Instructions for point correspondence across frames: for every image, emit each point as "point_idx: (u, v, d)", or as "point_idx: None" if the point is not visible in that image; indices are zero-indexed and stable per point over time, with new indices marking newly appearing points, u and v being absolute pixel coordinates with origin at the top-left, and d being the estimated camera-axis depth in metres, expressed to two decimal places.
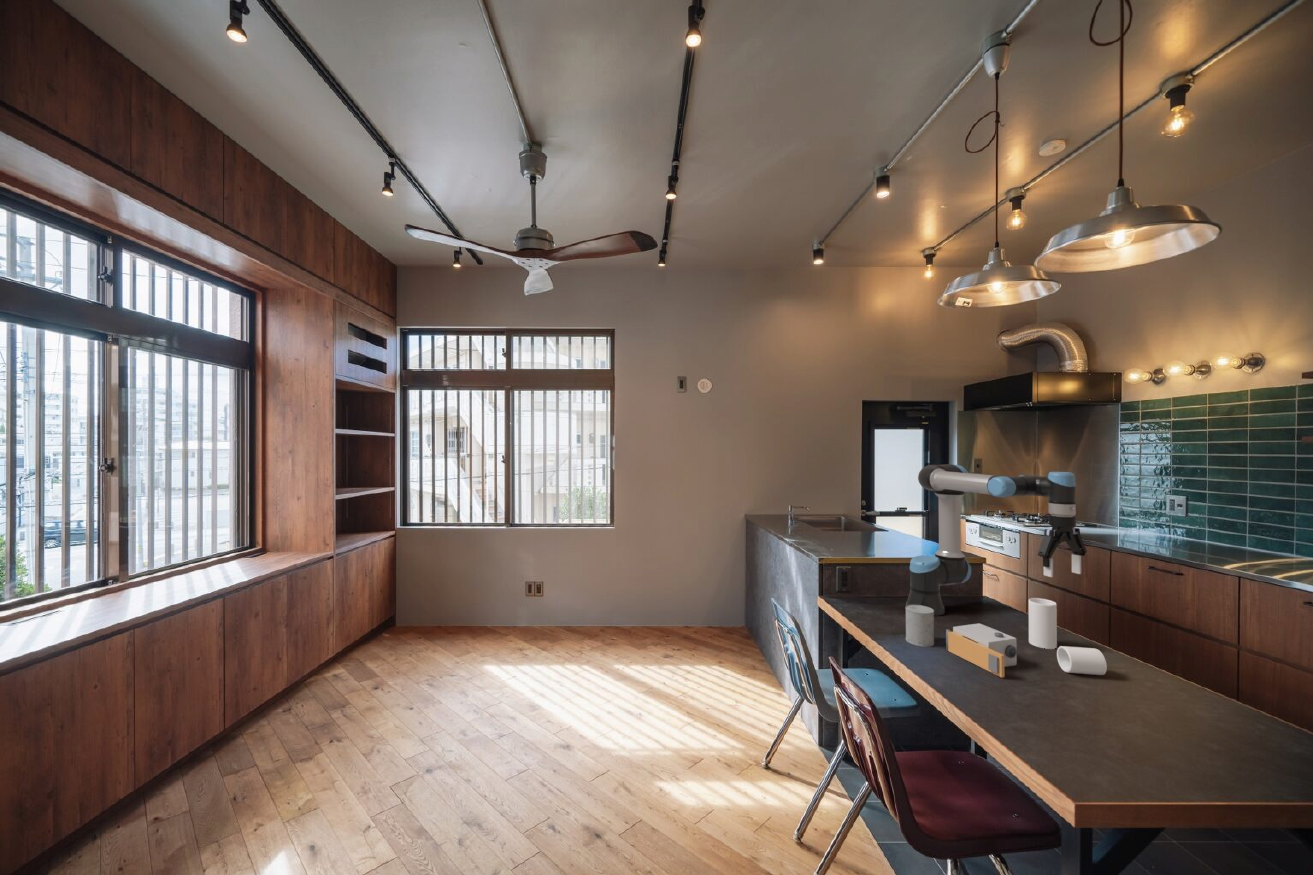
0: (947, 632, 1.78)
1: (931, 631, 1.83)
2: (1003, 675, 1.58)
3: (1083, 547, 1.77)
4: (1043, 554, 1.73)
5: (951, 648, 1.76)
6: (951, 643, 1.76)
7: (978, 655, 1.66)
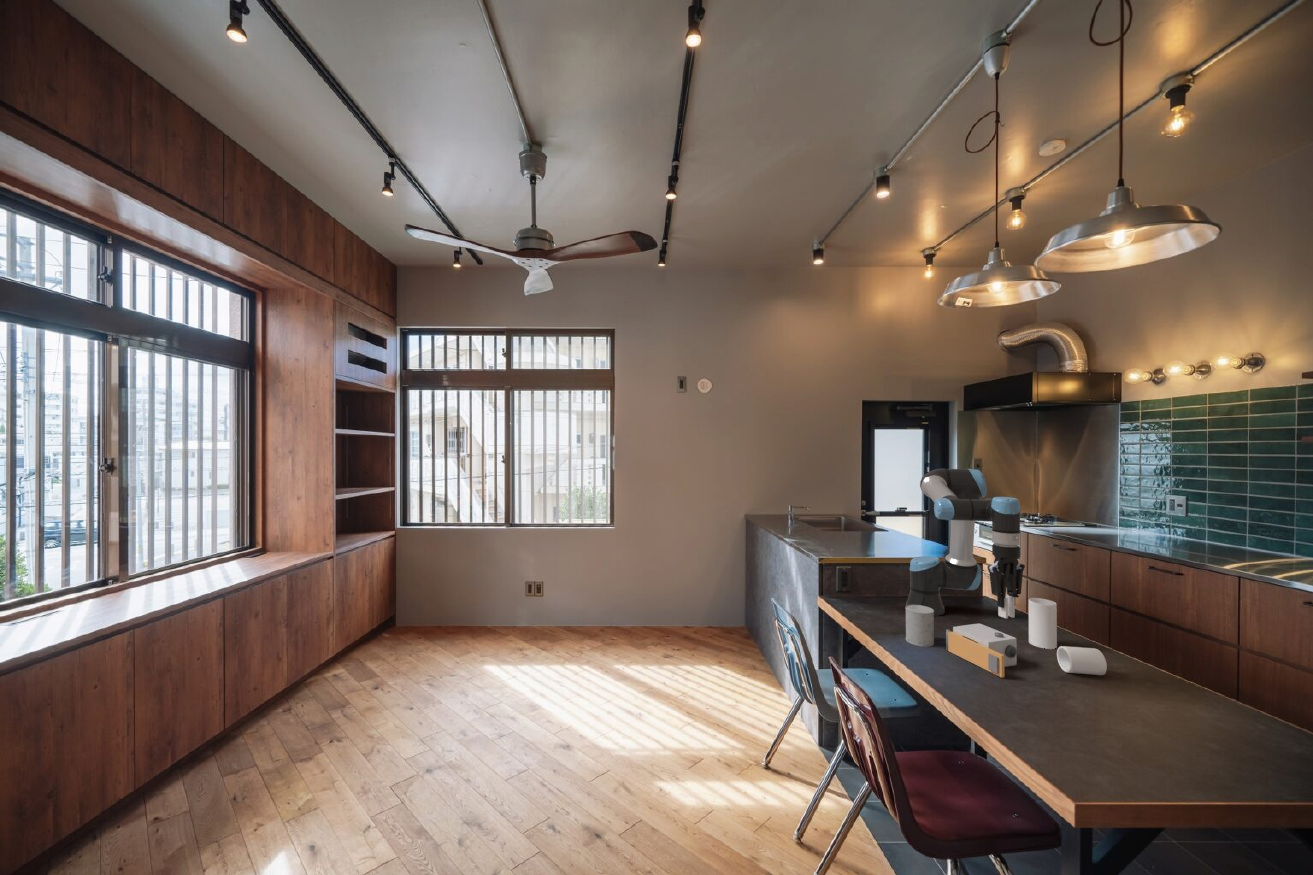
0: (947, 632, 1.78)
1: (931, 631, 1.83)
2: (1003, 675, 1.58)
3: (1019, 587, 1.61)
4: (997, 594, 1.60)
5: (951, 648, 1.76)
6: (951, 643, 1.76)
7: (978, 655, 1.66)
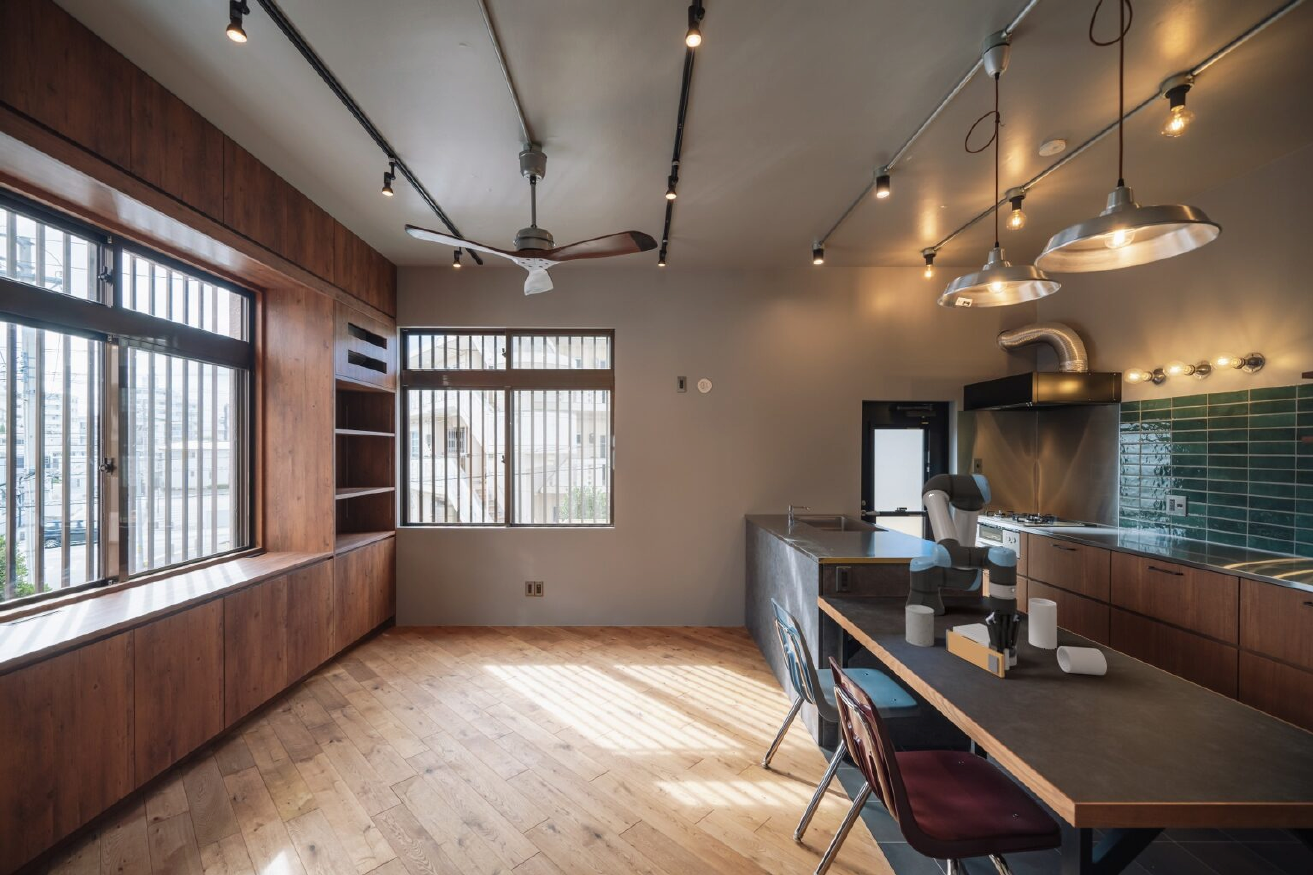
0: (947, 632, 1.78)
1: (931, 631, 1.83)
2: (1003, 675, 1.58)
3: (1015, 639, 1.61)
4: (996, 646, 1.60)
5: (951, 648, 1.76)
6: (951, 643, 1.76)
7: (978, 655, 1.66)
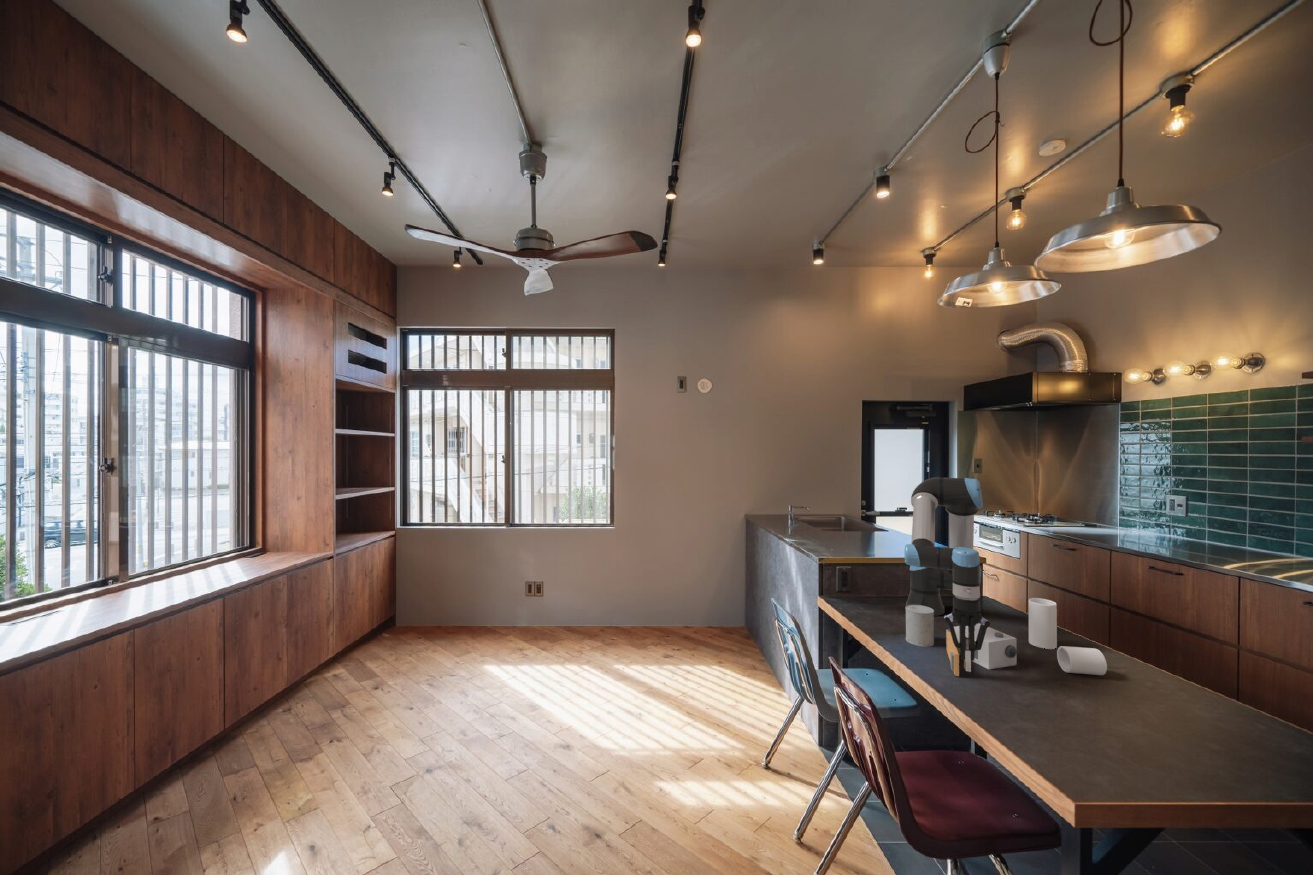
0: (946, 632, 1.78)
1: (931, 631, 1.83)
2: (957, 674, 1.59)
3: (979, 642, 1.58)
4: None
5: (947, 647, 1.77)
6: (947, 642, 1.77)
7: None
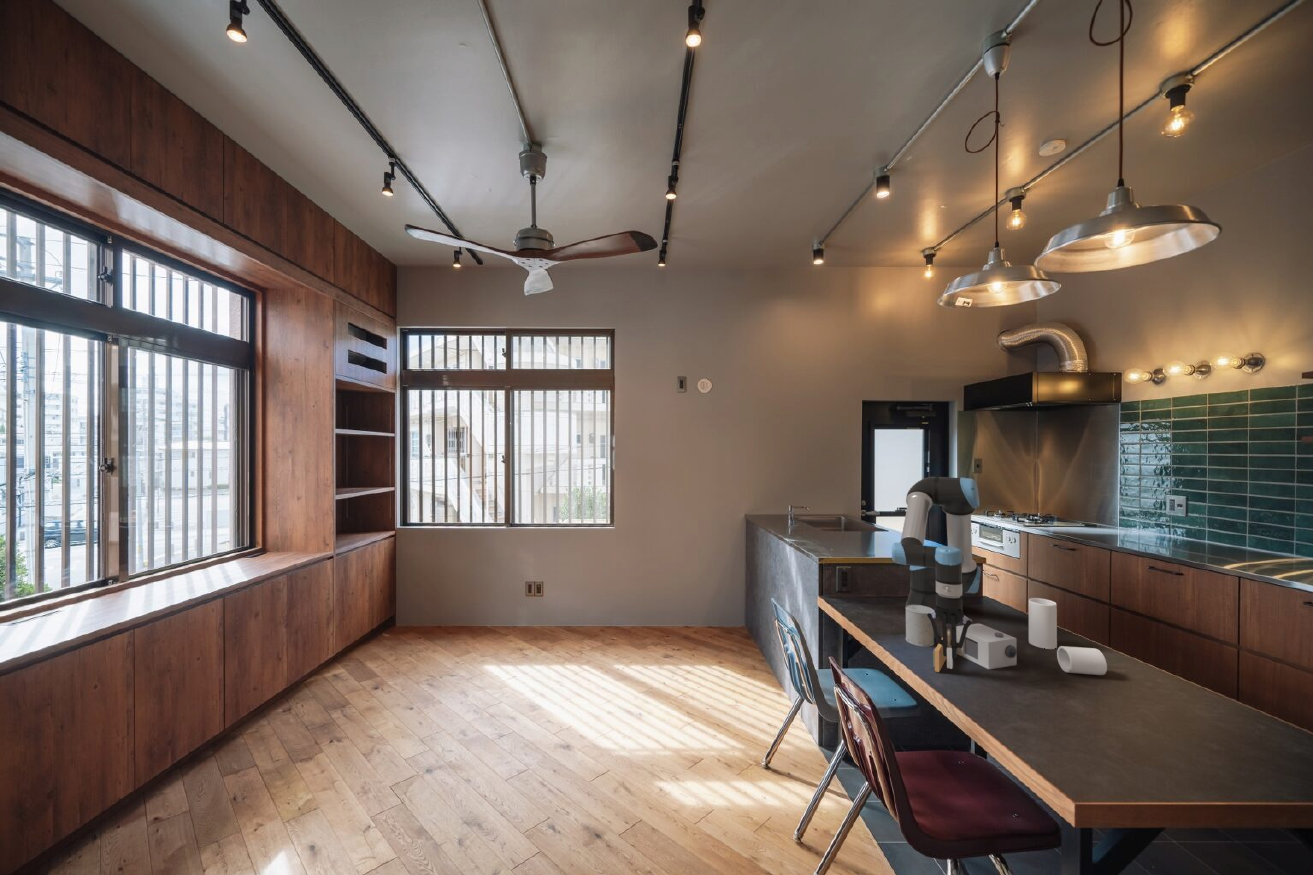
0: None
1: (931, 631, 1.83)
2: (937, 670, 1.62)
3: (961, 640, 1.59)
4: None
5: None
6: None
7: None
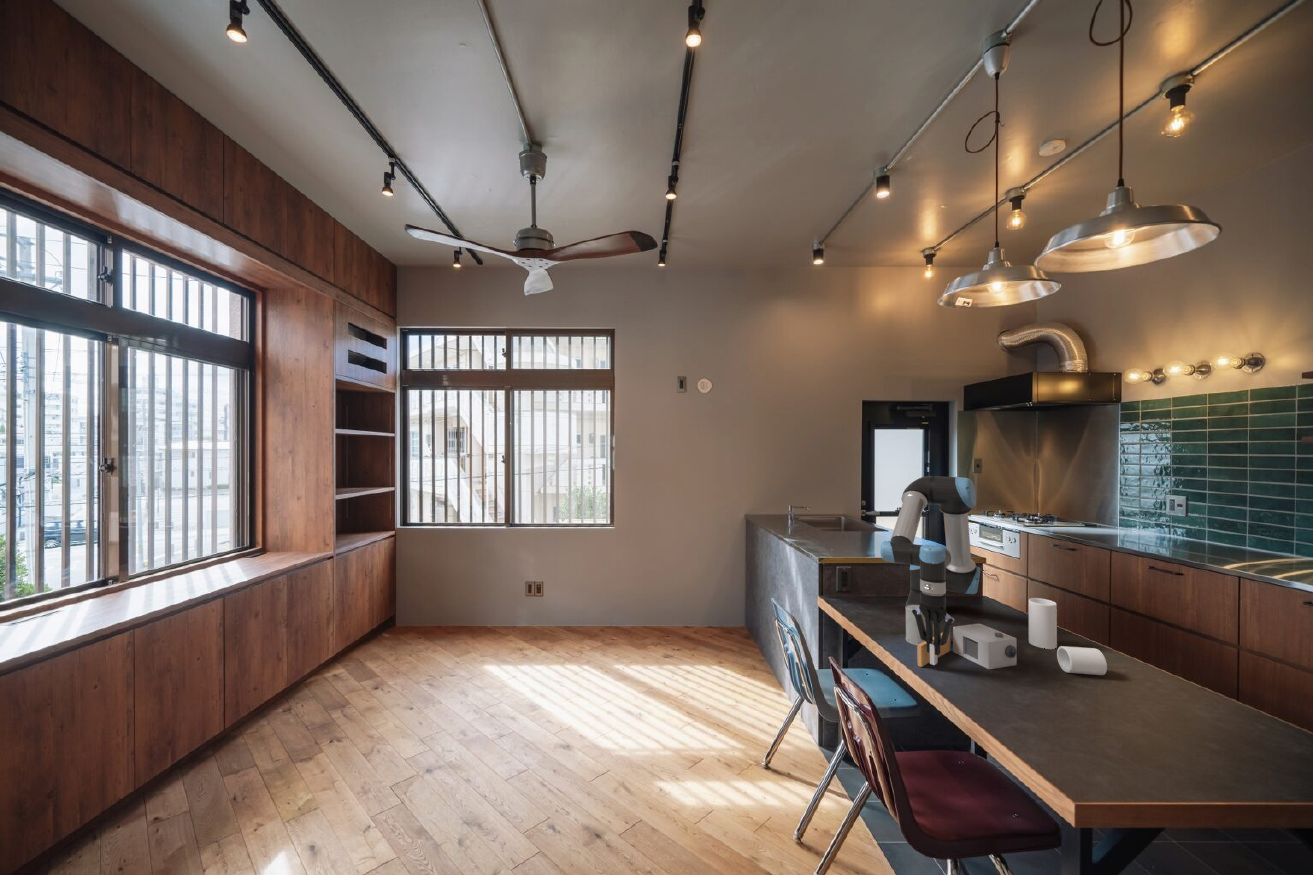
0: None
1: None
2: (920, 664, 1.66)
3: (942, 638, 1.62)
4: None
5: None
6: None
7: None
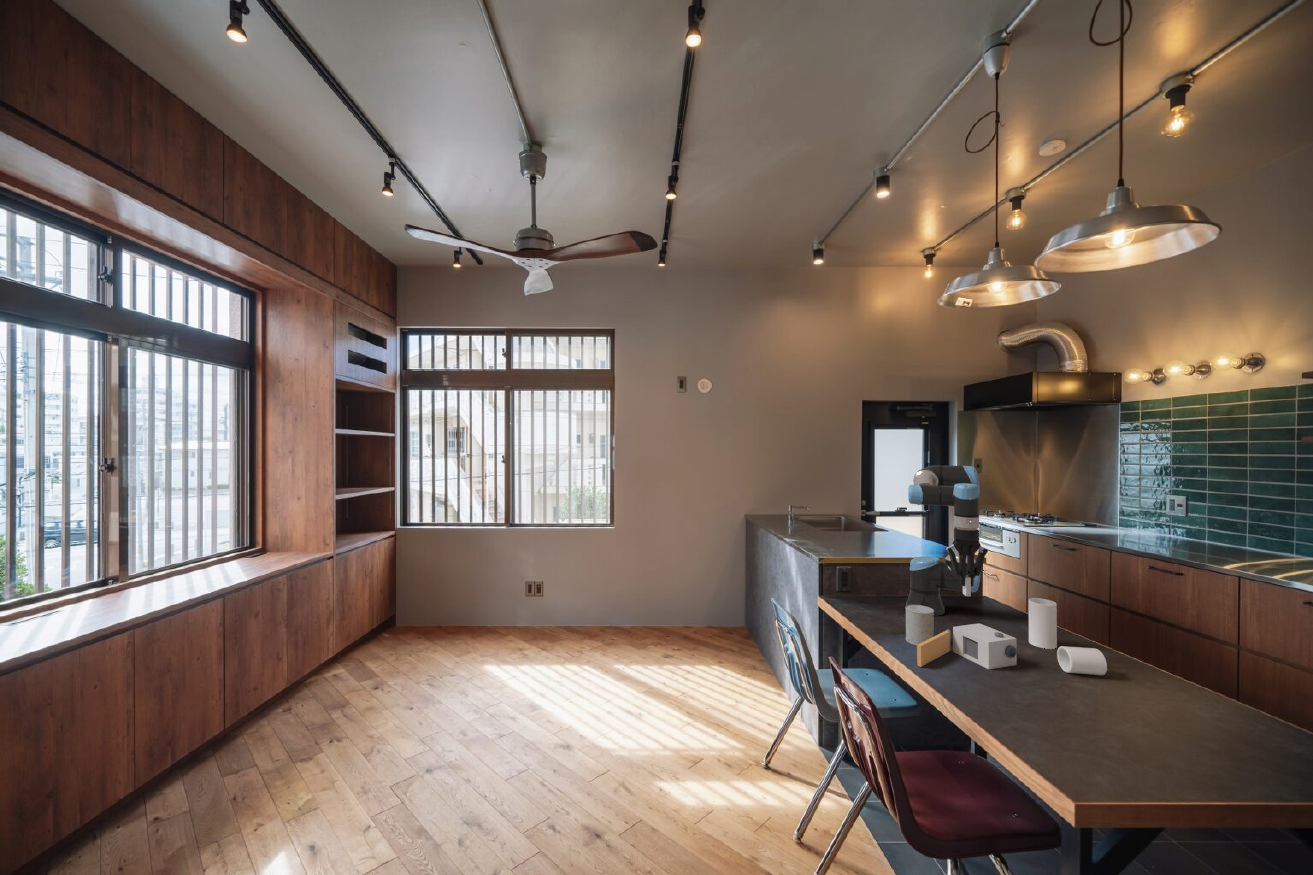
0: None
1: (931, 631, 1.83)
2: (919, 664, 1.66)
3: (978, 569, 1.71)
4: (956, 573, 1.73)
5: None
6: None
7: None
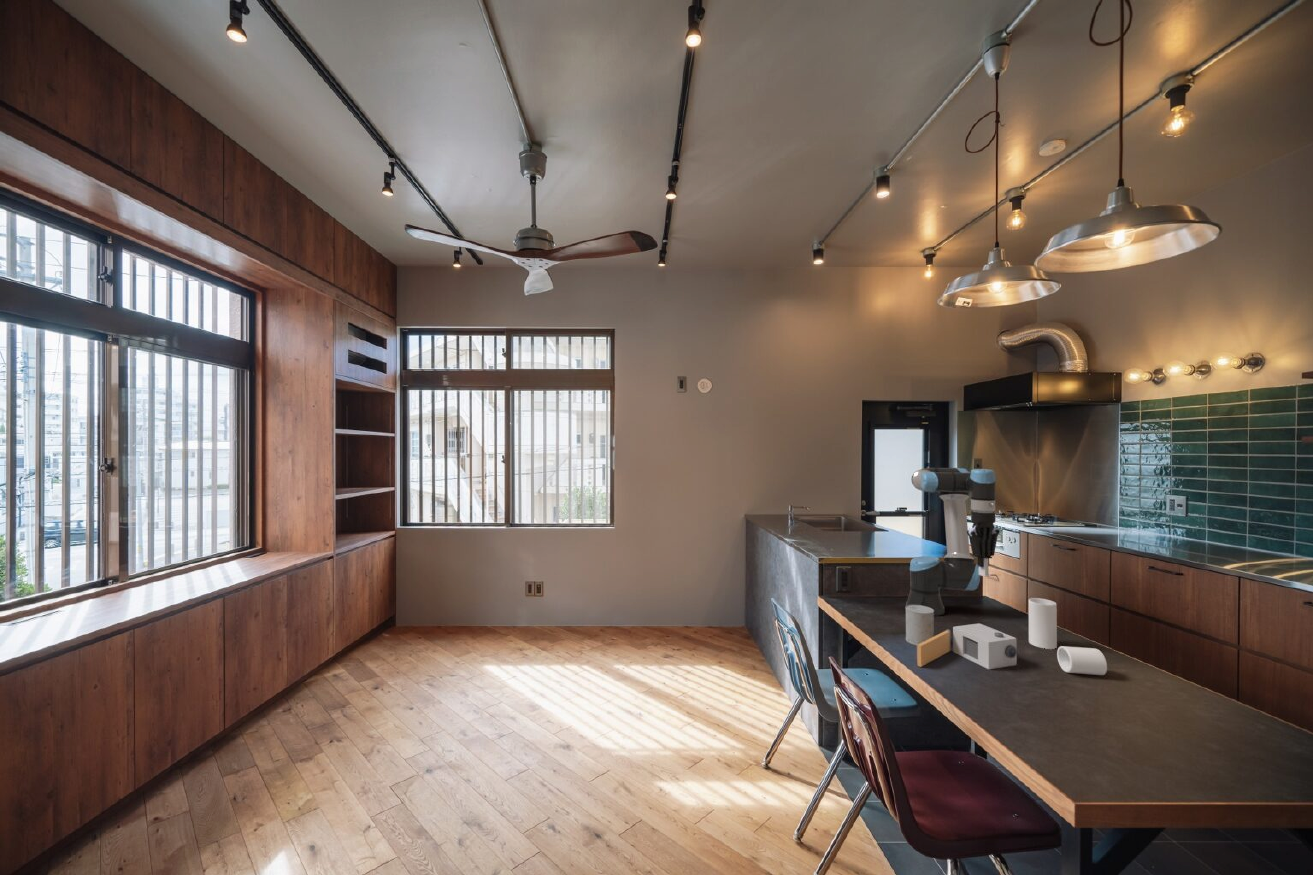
0: None
1: (931, 631, 1.83)
2: (919, 664, 1.66)
3: (993, 549, 1.81)
4: (977, 555, 1.79)
5: None
6: None
7: None
